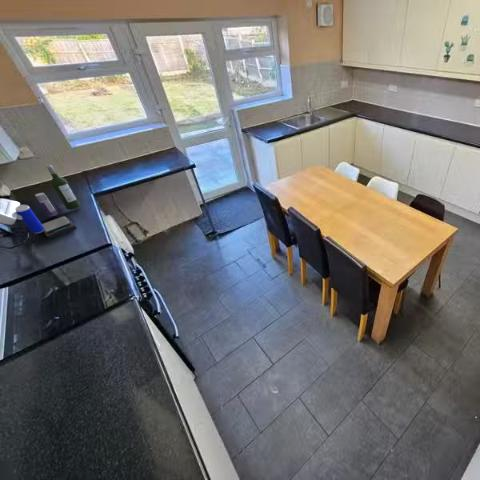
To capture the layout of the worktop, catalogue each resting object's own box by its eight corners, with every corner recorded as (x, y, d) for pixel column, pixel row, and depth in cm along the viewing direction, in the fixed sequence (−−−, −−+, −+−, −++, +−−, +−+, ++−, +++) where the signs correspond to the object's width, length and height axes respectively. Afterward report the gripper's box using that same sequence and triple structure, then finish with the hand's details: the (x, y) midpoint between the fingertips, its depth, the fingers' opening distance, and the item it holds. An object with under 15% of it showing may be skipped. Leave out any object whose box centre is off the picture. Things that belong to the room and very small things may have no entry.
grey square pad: (47, 232, 162) (46, 231, 161) (41, 225, 168) (41, 224, 167) (70, 223, 169) (69, 222, 168) (65, 217, 175) (64, 216, 174)
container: (47, 215, 182) (33, 195, 173) (54, 212, 185) (41, 192, 176) (51, 216, 180) (37, 196, 172) (59, 213, 184) (46, 193, 175)
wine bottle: (73, 204, 193) (49, 163, 176) (83, 204, 192) (59, 163, 175) (63, 209, 187) (37, 167, 170) (73, 209, 186) (48, 167, 169)
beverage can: (44, 226, 146) (27, 203, 136) (45, 231, 143) (29, 207, 133) (31, 230, 143) (13, 206, 133) (32, 235, 140) (14, 211, 130)
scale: (49, 239, 161) (46, 235, 159) (42, 229, 169) (39, 225, 168) (76, 228, 170) (74, 224, 168) (69, 219, 178) (66, 216, 176)
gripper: (-10, 203, 135) (29, 213, 145) (-18, 221, 122) (25, 231, 132) (-5, 192, 134) (34, 203, 145) (-12, 210, 121) (31, 220, 132)
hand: (30, 216), depth 138 cm, fingers closed on beverage can, 3 cm apart
